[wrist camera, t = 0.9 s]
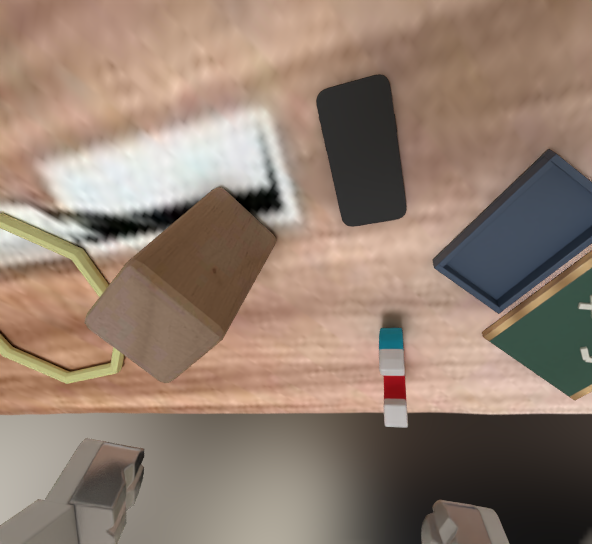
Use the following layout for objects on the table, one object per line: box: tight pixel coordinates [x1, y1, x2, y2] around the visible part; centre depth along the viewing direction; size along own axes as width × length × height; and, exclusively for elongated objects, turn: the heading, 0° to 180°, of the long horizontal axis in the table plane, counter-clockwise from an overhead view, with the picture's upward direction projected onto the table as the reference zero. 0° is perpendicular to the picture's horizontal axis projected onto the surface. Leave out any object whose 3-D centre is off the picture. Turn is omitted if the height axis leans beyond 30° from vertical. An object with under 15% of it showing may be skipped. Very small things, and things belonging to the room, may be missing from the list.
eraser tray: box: [433, 149, 592, 314], centre depth 41 cm, size 16×10×2 cm, turn 147°
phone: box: [317, 75, 406, 226], centre depth 41 cm, size 7×1×15 cm
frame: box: [0, 213, 124, 384], centre depth 63 cm, size 33×33×2 cm
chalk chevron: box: [580, 346, 592, 363], centre depth 47 cm, size 2×3×1 cm, turn 58°
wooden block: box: [85, 187, 276, 383], centre depth 41 cm, size 10×10×20 cm
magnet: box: [379, 328, 408, 427], centre depth 49 cm, size 12×3×10 cm, turn 10°
